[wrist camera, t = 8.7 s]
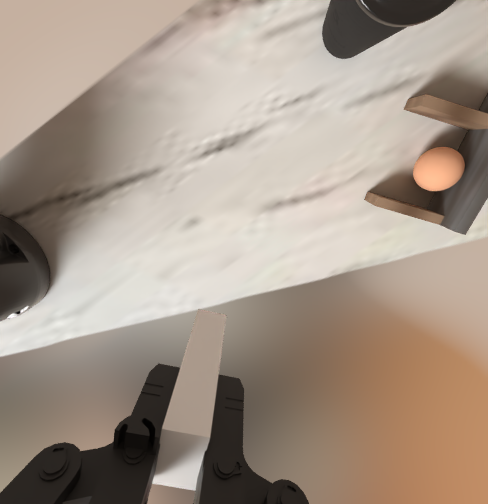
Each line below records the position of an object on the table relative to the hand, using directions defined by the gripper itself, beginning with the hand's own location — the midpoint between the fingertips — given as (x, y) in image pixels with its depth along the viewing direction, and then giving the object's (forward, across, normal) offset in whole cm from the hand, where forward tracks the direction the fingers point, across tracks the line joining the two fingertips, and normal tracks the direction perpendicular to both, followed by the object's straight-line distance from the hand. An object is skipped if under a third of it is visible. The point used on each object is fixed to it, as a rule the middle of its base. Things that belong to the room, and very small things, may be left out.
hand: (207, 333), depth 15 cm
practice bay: (+22, +19, +13) cm, 32 cm away
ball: (+19, +20, +12) cm, 30 cm away
